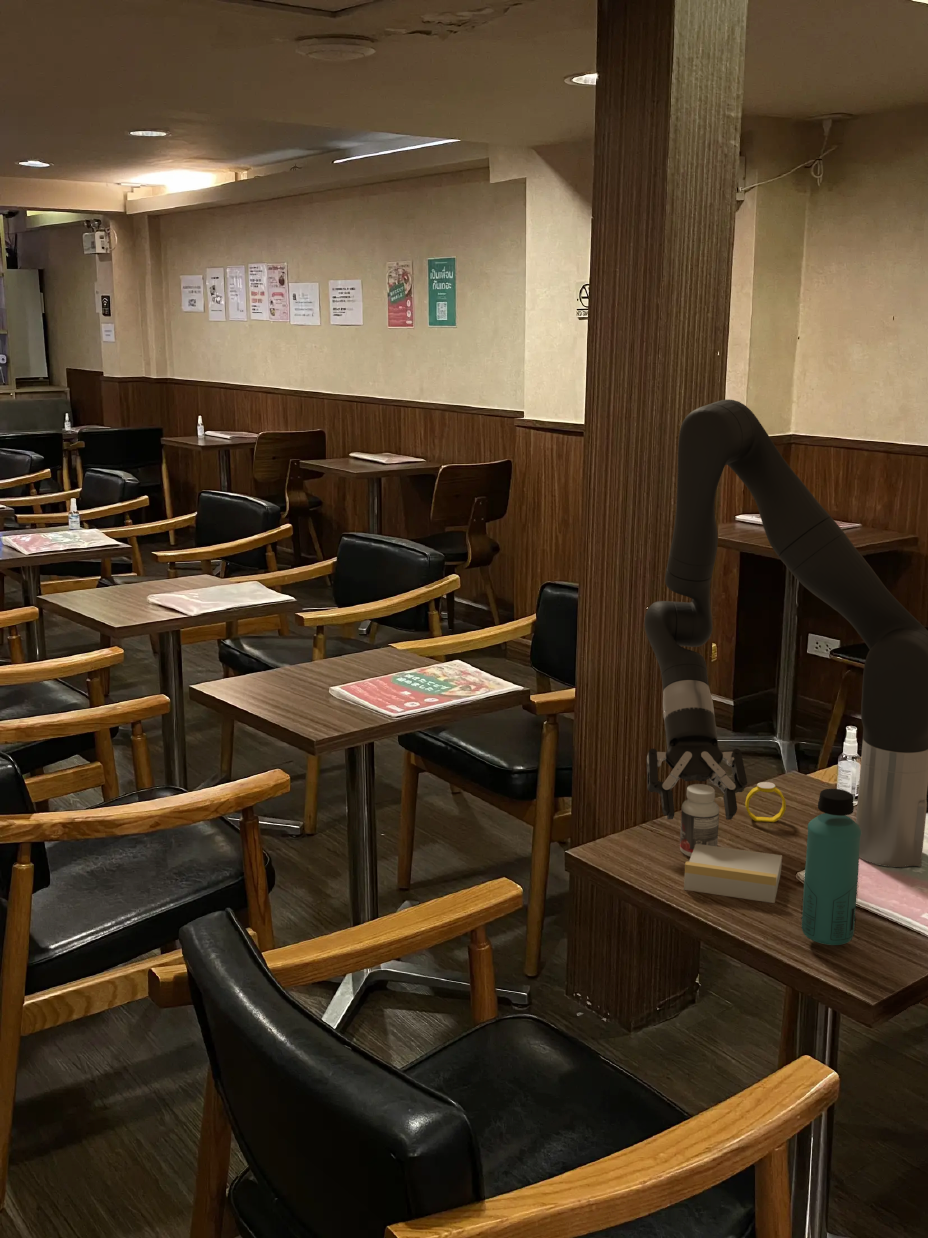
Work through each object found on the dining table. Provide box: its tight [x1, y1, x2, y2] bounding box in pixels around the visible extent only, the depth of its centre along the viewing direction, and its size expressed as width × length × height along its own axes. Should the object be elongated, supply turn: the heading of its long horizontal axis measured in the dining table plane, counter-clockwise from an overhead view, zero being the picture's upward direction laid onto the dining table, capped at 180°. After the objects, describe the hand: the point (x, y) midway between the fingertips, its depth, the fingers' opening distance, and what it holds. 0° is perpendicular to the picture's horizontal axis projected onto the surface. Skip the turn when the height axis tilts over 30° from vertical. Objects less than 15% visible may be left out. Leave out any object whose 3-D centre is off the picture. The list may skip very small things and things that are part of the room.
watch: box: [744, 781, 787, 823], centre depth 185 cm, size 6×3×6 cm, turn 83°
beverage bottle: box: [800, 788, 861, 946], centre depth 146 cm, size 6×7×20 cm
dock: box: [683, 844, 783, 904], centre depth 165 cm, size 12×10×4 cm
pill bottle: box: [679, 783, 720, 858], centre depth 173 cm, size 5×5×10 cm
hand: (700, 817), depth 172 cm, fingers open, 8 cm apart
